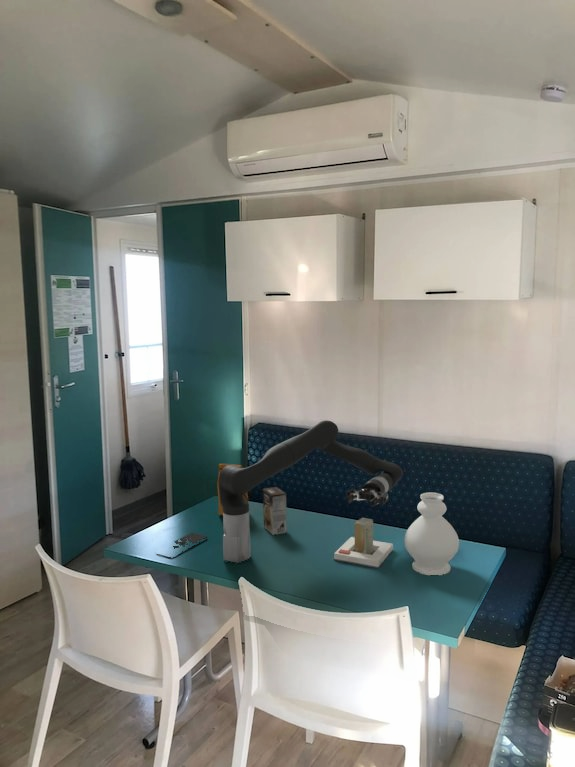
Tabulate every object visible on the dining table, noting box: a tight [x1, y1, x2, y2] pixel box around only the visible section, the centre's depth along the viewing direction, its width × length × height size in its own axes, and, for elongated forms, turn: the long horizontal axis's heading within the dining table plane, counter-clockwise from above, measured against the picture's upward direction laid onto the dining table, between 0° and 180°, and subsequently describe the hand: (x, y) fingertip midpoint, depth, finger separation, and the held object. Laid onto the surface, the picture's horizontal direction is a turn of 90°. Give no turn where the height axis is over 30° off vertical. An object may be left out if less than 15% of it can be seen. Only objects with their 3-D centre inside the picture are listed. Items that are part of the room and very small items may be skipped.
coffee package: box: [216, 463, 249, 516], centre depth 268 cm, size 10×12×22 cm
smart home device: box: [173, 532, 208, 549], centre depth 238 cm, size 8×2×20 cm
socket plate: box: [333, 536, 394, 569], centre depth 226 cm, size 16×16×3 cm
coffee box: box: [262, 486, 288, 536], centre depth 250 cm, size 9×6×16 cm
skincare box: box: [354, 517, 374, 554], centre depth 225 cm, size 6×4×12 cm
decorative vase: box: [404, 491, 460, 576], centre depth 213 cm, size 18×18×25 cm
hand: (359, 502), depth 221 cm, fingers open, 8 cm apart
